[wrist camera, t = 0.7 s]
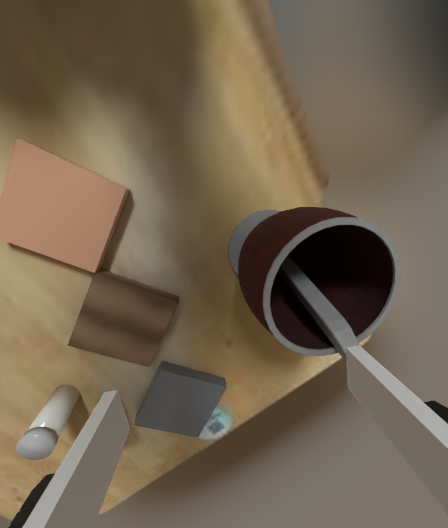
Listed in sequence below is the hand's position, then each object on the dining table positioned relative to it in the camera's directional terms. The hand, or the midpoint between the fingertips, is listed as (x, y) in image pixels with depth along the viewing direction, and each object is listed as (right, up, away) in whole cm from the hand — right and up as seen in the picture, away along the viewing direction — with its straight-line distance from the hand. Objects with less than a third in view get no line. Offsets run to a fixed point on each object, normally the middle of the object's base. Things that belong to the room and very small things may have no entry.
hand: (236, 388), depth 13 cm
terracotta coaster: (-21, +14, +16) cm, 30 cm away
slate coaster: (-9, -17, +28) cm, 34 cm away
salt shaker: (-27, -15, +24) cm, 39 cm away
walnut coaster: (-16, -1, +22) cm, 27 cm away
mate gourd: (+6, +9, +23) cm, 25 cm away
